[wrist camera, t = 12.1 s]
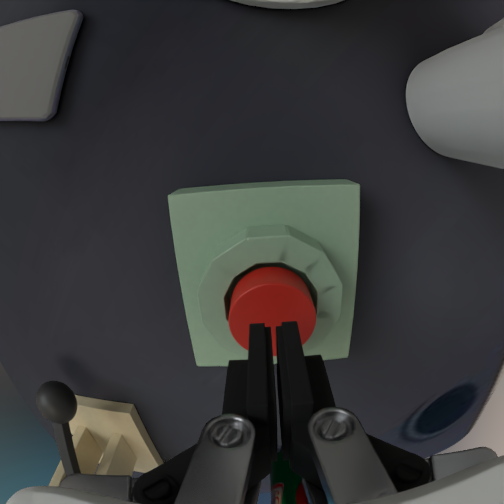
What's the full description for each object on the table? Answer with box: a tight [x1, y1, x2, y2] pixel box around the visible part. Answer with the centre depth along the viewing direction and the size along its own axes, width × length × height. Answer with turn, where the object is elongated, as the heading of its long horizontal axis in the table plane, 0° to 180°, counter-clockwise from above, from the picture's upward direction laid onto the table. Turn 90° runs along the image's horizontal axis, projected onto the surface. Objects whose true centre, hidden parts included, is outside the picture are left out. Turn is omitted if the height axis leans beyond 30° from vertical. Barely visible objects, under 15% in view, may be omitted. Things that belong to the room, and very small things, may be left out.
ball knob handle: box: [36, 381, 81, 476], centre depth 16 cm, size 13×3×3 cm
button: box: [228, 267, 316, 356], centre depth 13 cm, size 4×4×2 cm
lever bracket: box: [49, 395, 164, 487], centre depth 18 cm, size 11×9×11 cm
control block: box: [168, 179, 360, 366], centre depth 15 cm, size 10×9×4 cm
